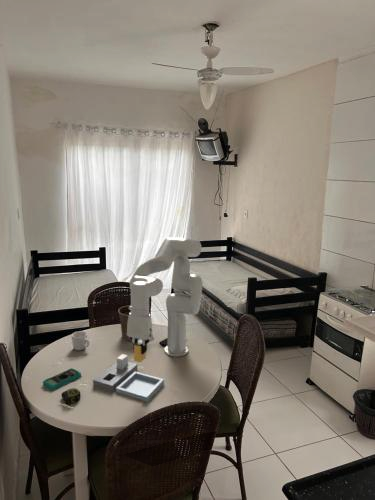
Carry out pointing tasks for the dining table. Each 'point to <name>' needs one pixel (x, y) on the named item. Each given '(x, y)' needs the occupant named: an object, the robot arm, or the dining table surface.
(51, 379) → the digital multimeter
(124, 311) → the plant pot
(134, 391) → the parts tray
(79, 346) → the cup
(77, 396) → the tape measure
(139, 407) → the dining table surface
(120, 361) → the block
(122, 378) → the fuse block
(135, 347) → the block
